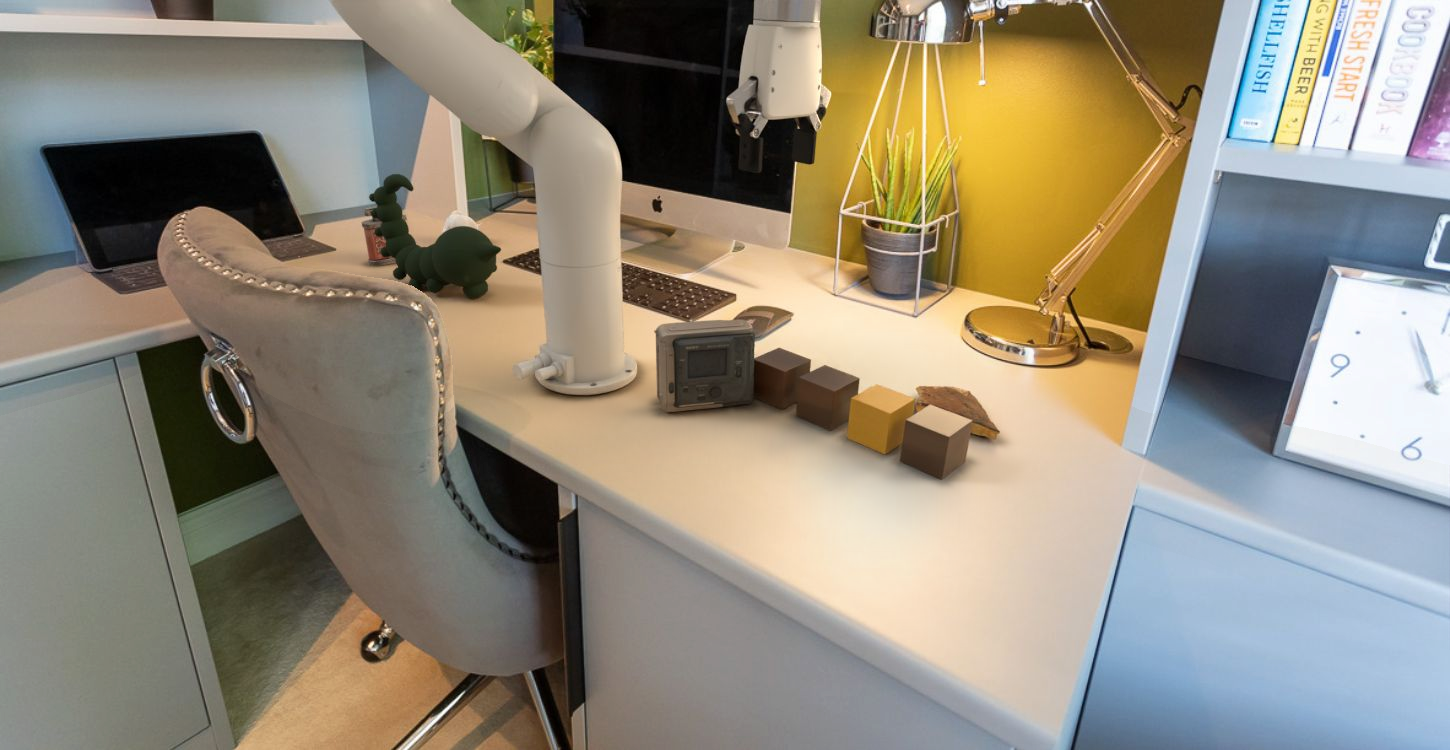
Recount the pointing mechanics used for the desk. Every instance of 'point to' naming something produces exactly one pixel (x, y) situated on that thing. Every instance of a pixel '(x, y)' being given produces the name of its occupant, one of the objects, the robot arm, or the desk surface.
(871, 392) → the mustard block
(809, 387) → the line block
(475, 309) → the desk surface
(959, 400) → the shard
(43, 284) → the desk surface
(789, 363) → the line block
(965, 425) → the line block
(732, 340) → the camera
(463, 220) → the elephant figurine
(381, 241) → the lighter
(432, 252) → the toy figurine
